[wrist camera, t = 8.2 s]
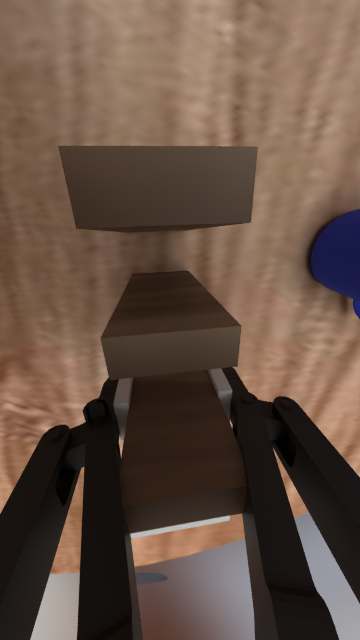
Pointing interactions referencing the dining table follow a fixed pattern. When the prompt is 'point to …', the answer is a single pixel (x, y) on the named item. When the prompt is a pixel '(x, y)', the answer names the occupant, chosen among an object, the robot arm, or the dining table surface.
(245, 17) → the dining table surface
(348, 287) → the mug
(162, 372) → the domino
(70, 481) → the robot arm
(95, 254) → the dining table surface
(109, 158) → the domino
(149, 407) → the domino
